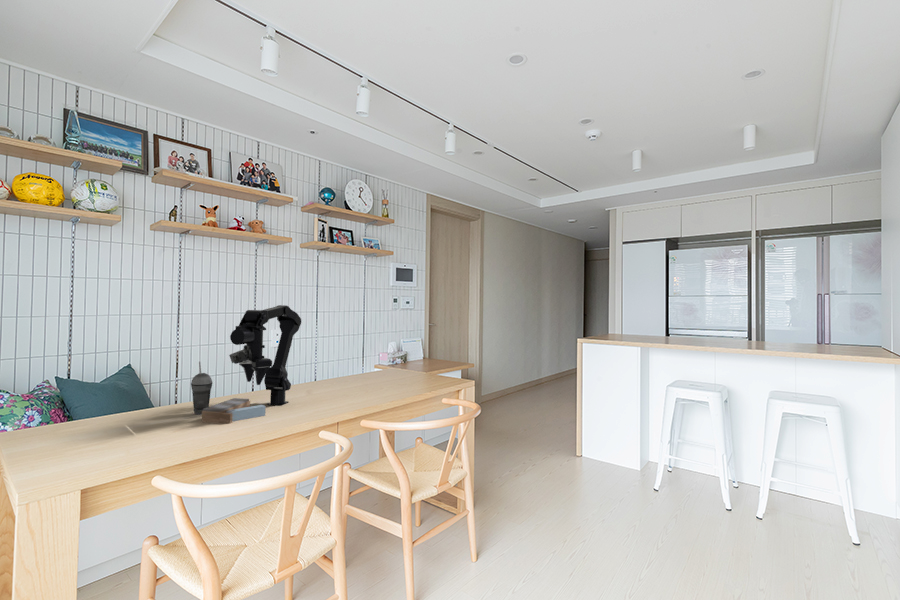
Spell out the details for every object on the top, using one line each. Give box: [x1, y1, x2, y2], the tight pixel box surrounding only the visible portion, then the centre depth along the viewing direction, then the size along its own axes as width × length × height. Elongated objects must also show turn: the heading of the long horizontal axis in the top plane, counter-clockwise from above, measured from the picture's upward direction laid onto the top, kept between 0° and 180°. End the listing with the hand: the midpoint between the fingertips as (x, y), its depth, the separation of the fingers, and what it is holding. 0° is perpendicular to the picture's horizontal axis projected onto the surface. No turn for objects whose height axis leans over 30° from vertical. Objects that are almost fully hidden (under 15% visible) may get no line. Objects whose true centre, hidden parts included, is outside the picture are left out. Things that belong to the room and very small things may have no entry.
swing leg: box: [226, 404, 266, 422], centre depth 157 cm, size 14×3×4 cm, turn 138°
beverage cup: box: [190, 361, 213, 416], centre depth 163 cm, size 7×7×20 cm
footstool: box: [201, 397, 251, 424], centre depth 160 cm, size 18×11×5 cm, turn 173°
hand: (253, 383), depth 164 cm, fingers open, 8 cm apart
